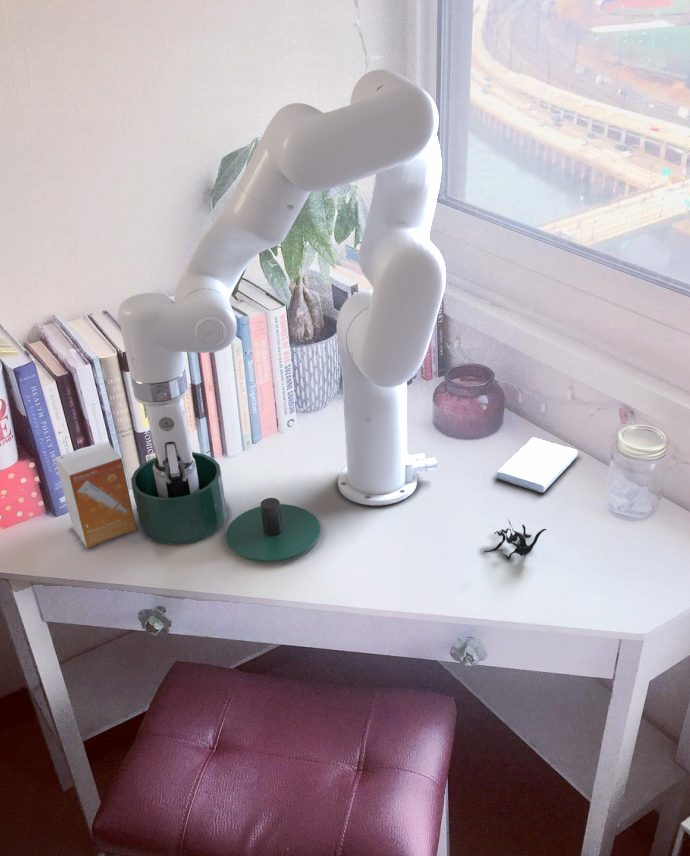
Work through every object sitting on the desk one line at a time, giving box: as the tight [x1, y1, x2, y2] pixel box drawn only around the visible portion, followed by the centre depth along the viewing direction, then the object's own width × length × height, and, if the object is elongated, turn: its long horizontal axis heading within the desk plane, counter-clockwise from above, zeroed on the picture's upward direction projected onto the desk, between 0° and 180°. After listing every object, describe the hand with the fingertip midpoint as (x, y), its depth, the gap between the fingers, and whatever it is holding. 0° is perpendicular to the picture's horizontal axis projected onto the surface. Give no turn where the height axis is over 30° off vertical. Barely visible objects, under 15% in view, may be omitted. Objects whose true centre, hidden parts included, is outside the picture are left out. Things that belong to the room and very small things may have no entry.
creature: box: [484, 518, 547, 560], centre depth 128 cm, size 8×5×8 cm
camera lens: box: [153, 456, 200, 498], centre depth 136 cm, size 6×6×8 cm
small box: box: [54, 440, 137, 549], centre depth 134 cm, size 8×6×13 cm
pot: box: [130, 451, 228, 545], centre depth 137 cm, size 13×13×8 cm
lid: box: [225, 497, 321, 564], centre depth 133 cm, size 14×14×6 cm
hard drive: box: [496, 437, 578, 494], centre depth 146 cm, size 2×8×12 cm
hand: (178, 489), depth 137 cm, fingers closed on camera lens, 6 cm apart
